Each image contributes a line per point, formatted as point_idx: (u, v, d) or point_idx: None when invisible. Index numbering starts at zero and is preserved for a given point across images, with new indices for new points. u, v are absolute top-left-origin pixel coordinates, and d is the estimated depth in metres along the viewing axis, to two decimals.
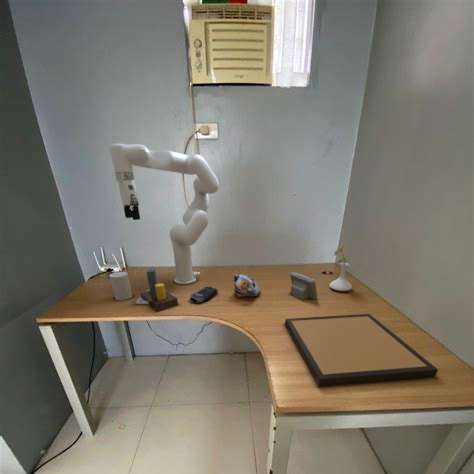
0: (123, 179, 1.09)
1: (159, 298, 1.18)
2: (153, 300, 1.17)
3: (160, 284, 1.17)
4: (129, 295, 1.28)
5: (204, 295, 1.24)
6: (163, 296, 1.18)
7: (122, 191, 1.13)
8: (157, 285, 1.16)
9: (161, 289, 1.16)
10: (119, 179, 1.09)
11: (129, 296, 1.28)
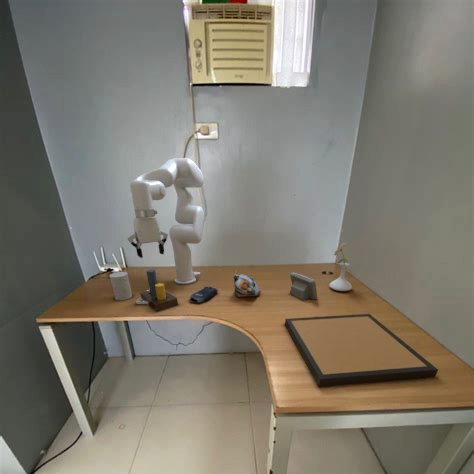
0: (154, 216, 1.06)
1: (159, 298, 1.18)
2: (153, 300, 1.17)
3: (160, 284, 1.17)
4: (129, 295, 1.28)
5: (204, 295, 1.24)
6: (163, 296, 1.18)
7: (150, 228, 1.06)
8: (157, 285, 1.16)
9: (161, 289, 1.16)
10: (152, 216, 1.04)
11: (129, 296, 1.28)
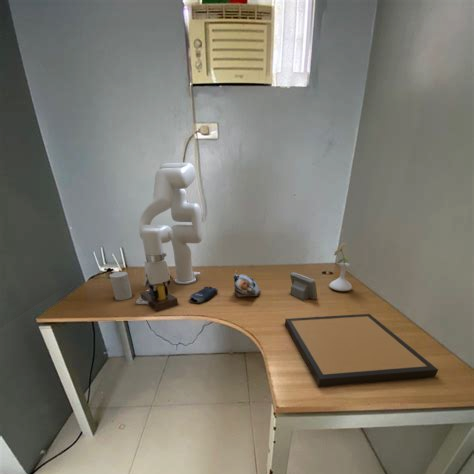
0: (164, 259, 1.12)
1: (159, 298, 1.18)
2: (153, 300, 1.17)
3: (160, 284, 1.17)
4: (129, 295, 1.28)
5: (204, 295, 1.24)
6: (163, 296, 1.18)
7: (160, 270, 1.12)
8: (157, 285, 1.16)
9: (161, 289, 1.16)
10: (162, 260, 1.10)
11: (129, 296, 1.28)
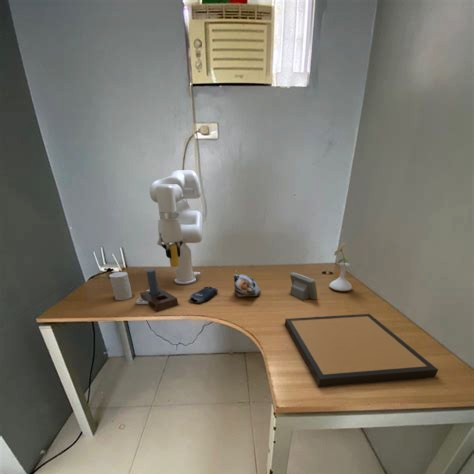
0: (177, 217, 1.14)
1: (172, 258, 1.20)
2: (153, 300, 1.17)
3: (173, 244, 1.19)
4: (129, 295, 1.28)
5: (204, 295, 1.24)
6: (175, 256, 1.20)
7: (173, 229, 1.14)
8: (170, 245, 1.18)
9: (173, 248, 1.18)
10: (175, 218, 1.12)
11: (129, 296, 1.28)
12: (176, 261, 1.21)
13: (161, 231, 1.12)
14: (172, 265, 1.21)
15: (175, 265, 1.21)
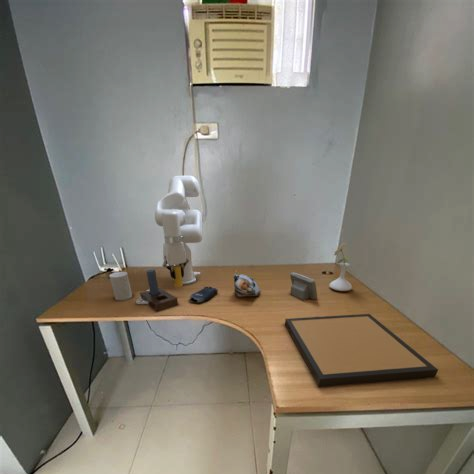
0: (181, 241, 1.19)
1: (176, 279, 1.25)
2: (153, 300, 1.17)
3: (177, 266, 1.25)
4: (129, 295, 1.28)
5: (204, 295, 1.24)
6: (179, 277, 1.25)
7: (178, 252, 1.19)
8: (174, 266, 1.23)
9: (178, 269, 1.23)
10: (180, 242, 1.18)
11: (129, 296, 1.28)
12: (180, 281, 1.26)
13: (166, 254, 1.17)
14: (176, 285, 1.27)
15: (179, 285, 1.27)
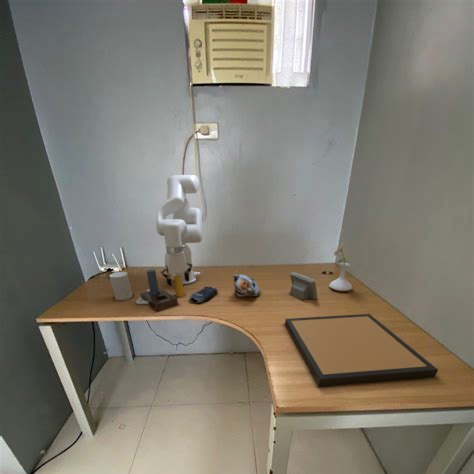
0: (182, 251, 1.22)
1: (177, 289, 1.27)
2: (153, 300, 1.17)
3: (178, 276, 1.27)
4: (129, 295, 1.28)
5: (204, 295, 1.24)
6: (181, 287, 1.28)
7: (179, 261, 1.22)
8: (175, 277, 1.26)
9: (179, 280, 1.25)
10: (181, 251, 1.20)
11: (129, 296, 1.28)
12: (181, 291, 1.29)
13: (168, 264, 1.20)
14: (177, 295, 1.29)
15: (180, 295, 1.29)
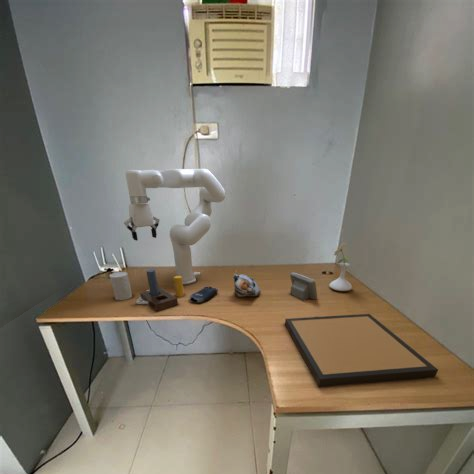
0: (147, 202, 1.18)
1: (177, 289, 1.27)
2: (153, 300, 1.17)
3: (178, 276, 1.27)
4: (129, 295, 1.28)
5: (204, 295, 1.24)
6: (181, 287, 1.28)
7: (144, 213, 1.18)
8: (175, 277, 1.26)
9: (179, 280, 1.25)
10: (146, 202, 1.16)
11: (129, 296, 1.28)
12: (181, 291, 1.29)
13: (132, 215, 1.16)
14: (177, 295, 1.29)
15: (180, 295, 1.29)
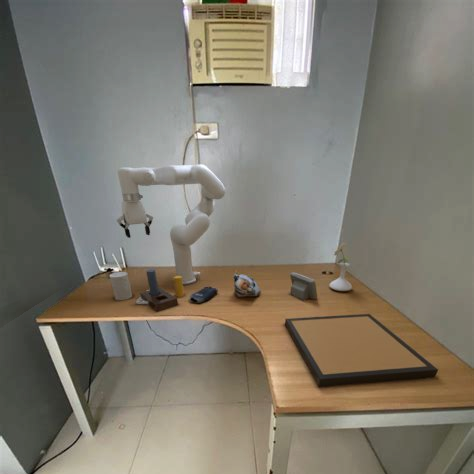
0: (140, 200, 1.19)
1: (177, 289, 1.27)
2: (153, 300, 1.17)
3: (178, 276, 1.27)
4: (129, 295, 1.28)
5: (204, 295, 1.24)
6: (181, 287, 1.28)
7: (137, 211, 1.19)
8: (175, 277, 1.26)
9: (179, 280, 1.25)
10: (138, 200, 1.17)
11: (129, 296, 1.28)
12: (181, 291, 1.29)
13: (124, 212, 1.17)
14: (177, 295, 1.29)
15: (180, 295, 1.29)
